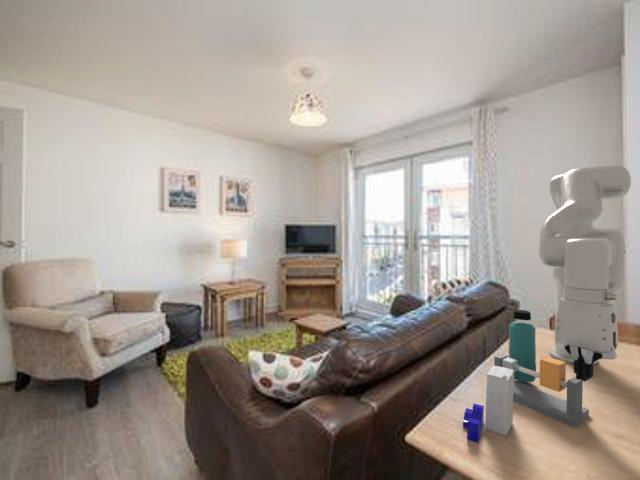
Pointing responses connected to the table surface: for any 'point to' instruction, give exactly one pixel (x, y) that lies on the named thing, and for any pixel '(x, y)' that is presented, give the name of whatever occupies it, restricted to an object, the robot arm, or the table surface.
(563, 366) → the orange rectangular block
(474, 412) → the cable holder
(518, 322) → the beverage bottle
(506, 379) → the skincare box
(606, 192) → the robot arm
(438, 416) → the table surface
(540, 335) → the table surface
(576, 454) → the table surface
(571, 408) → the rail
